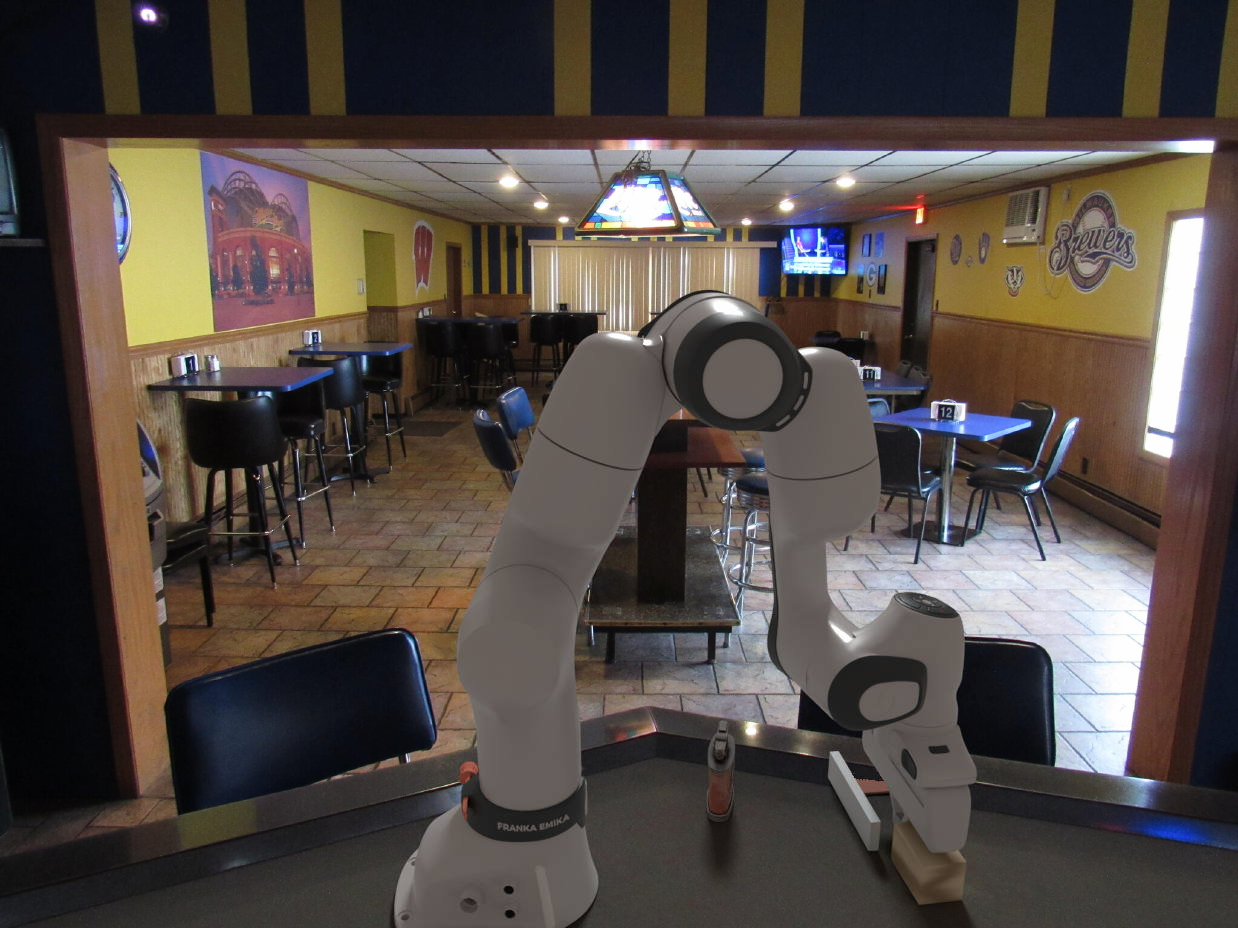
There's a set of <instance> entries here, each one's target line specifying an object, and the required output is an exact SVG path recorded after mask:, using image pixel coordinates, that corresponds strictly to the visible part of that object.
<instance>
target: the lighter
mask: <svg viewBox="0 0 1238 928" xmlns="http://www.w3.org/2000/svg"><path fill="white" fill-rule="evenodd" d="M707 749H708V750H707V765H708V790H707V791H706V812H707V813H706V814H707V817H708V818H709V819H710V820H712V821H714V822H718V823H719V822H720V823H721V822H725V821H727V820H728V819H729V818H730V814H731V812H732V810H733V804H734V785H733V781H734V777H735V758H736V744H735V739H734V736H733V735H732V734H730V733H729V722H727V720H720V721H719V722H718V728H717V732H716V733H715V734H714V735H713V736H712V738H711V740H710V742H709V746H708V748H707Z"/></svg>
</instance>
